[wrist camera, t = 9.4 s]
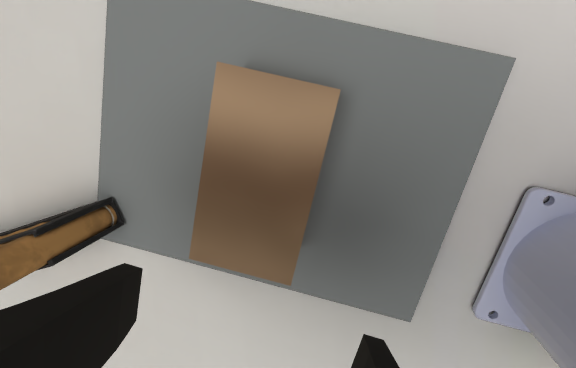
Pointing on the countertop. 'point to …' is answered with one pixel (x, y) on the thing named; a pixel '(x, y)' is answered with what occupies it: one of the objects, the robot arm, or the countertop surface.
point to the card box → (260, 170)
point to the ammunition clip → (54, 239)
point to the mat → (340, 147)
